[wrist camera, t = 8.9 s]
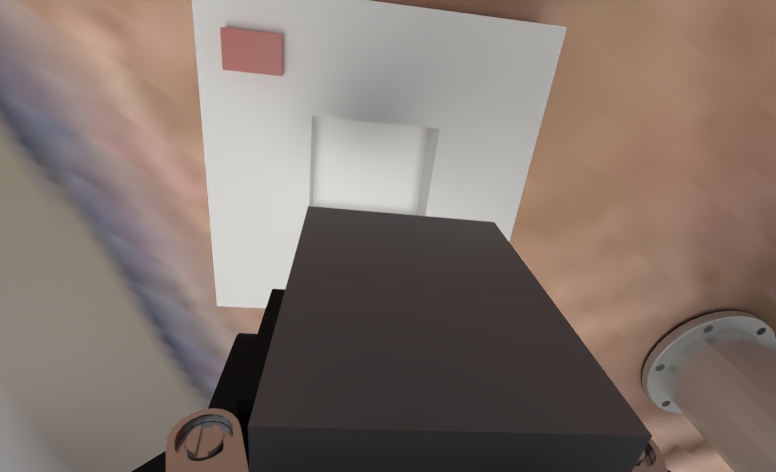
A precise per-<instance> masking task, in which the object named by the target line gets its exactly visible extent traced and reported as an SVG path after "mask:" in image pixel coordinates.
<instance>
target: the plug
mask: <svg viewBox="0 0 776 472" xmlns="http://www.w3.org/2000/svg"><path fill="white" fill-rule="evenodd" d="M651 437H652V435H651V434H650V432H649V431H648V430H647V428H646V427H645V426H644V424H643V423H642V422H641V420H640V419H639V418H638V416H637V415H636V413H635V412H634V411H633V409H632V408H631V407H630V405H629V404H628V403H627V401H626V400H625V399H624V397H623V396H622V395H621V393H620V392H619V390H618V389H617V388H616V386H615V385H614V384H613V382H612V381H611V380H610V378H609V377H608V376H607V374H606V373H605V371H604V370H603V369H602V367H601V366H600V365H599V363H598V362H597V361H596V359H595V358H594V357H593V355H592V354H591V353H590V351H589V350H588V348H587V347H586V346H585V344H584V343H583V342H582V340H581V339H580V338H579V336H578V335H577V334H576V332H575V331H574V329H573V328H572V327H571V325H570V324H569V323H568V321H567V320H566V319H565V317H564V316H563V315H562V313H561V312H560V311H559V309H558V308H557V306H556V305H555V304H554V302H553V301H552V300H551V298H550V297H549V296H548V294H547V293H546V292H545V290H544V289H543V287H542V286H541V285H540V283H539V282H538V281H537V279H536V278H535V277H534V275H533V274H532V273H531V271H530V270H529V269H528V267H527V266H526V264H525V263H524V262H523V260H522V259H521V258H520V256H519V255H518V254H517V252H516V251H515V250H514V248H513V247H512V245H511V244H510V243H509V241H508V240H507V239H506V237H505V236H504V235H503V233H502V232H501V231H500V229H499V228H498V226H497V225H496V224H495V222H488V221H476V220H465V219H453V218H441V217H430V216H418V215H406V214H395V213H383V212H372V211H360V210H348V209H337V208H325V207H313V206H308V209H307V212H306V216H305V220H304V223H303V227H302V231H301V234H300V238H299V242H298V245H297V249H296V253H295V256H294V260H293V264H292V267H291V271H290V274H289V278H288V282H287V285H286V289H285V293H284V296H283V300H282V304H281V307H280V311H279V315H278V318H277V322H276V325H275V329H274V333H273V336H272V340H271V344H270V347H269V351H268V355H267V358H266V362H265V366H264V369H263V373H262V377H261V380H260V384H259V387H258V391H257V395H256V398H255V402H254V406H253V409H252V413H251V417H250V420H249V424H248V445H249V472H632V470H633V468H634V466H635V465H636V463H637V461H638V459H639V458H640V456H641V454H642V453H643V451H644V449H645V447H646V446H647V444H648V442H649V440H650V439H651Z"/></svg>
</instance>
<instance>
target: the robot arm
mask: <svg viewBox="0 0 776 472" xmlns="http://www.w3.org/2000/svg"><path fill="white" fill-rule="evenodd" d="M284 293H285V289H272V291H271V294H270V297H269V300H268V303H267V307H266V310H265V313H264V316H263V319H262V322H261V325H260V328H259V331H258V334H245V333H239V334H238V335H237V337H236V339H235V341H234V344H233V346H232V349H231V351H230V354H229V357H228V359H227V362H226V364H225V367H224V369H223V372H222V374H221V377H220V379H219V382H218V385H217V387H216V390H215V392H214V395H213V397H212V400H211V402H210V405H209V408H208V409H204V410H200V411H197V412H194V413H192V414H190V415H189V416H187V417H185V418H184V419H182V420H180V421H179V423H177V424H176V425H175V426H174V428H173V429H172V430H171V432H170V434H169V436H168V438H167V442H166V451H165V452H163V453H162V454H160V455H158V456H157V457H155V458H153V459H152V460H150V461H148V462H147V463H145V464H144V465H142V466H140V467H139V468H137V469H135V470H134V471H132V472H249V445H248V424H249V420H250V417H251V413H252V409H253V406H254V402H255V398H256V395H257V391H258V387H259V384H260V380H261V377H262V373H263V369H264V366H265V362H266V358H267V355H268V351H269V347H270V344H271V340H272V336H273V333H274V329H275V325H276V322H277V318H278V315H279V311H280V307H281V304H282V300H283V296H284ZM642 385H643V389H644V391H645V393H646V394H647V396H648V397H649V398H650V399H651V400H652V402H653V403H654V404H655V405H656V406H658V407H659V408H660V409H663V410H665V411H668V412H672V413H677V414H684V415H685V416H686V417H687V418H688V419H689V420H690V422H691V423H692V424H693V425H694V426H695V427H696V429H697V430H698V431H699V432H700V433H701V434H702V435H703V437H704V438H705V439H706V440H707V441H708V442H709V444H710V445H711V446H712V447H713V448H714V449H715V450H716V452H717V453H718V454H719V455H720V456H721V457H722V459H723V460H724V461H725V462H726V463H727V464H728V465H729V467H730V468H731V469H732V470H733V471H734V472H776V337H775V333H774V332H773V330H772V329H771V328H770V326H769V325H767V324H766V323H765V322H763V321H762V320H761V319H759V318H758V317H756V316H754V315H752V314H749V313H746V312H742V311H722V312H715V313H711V314H707V315H703V316H701V317H698V318H696V319H693V320H691V321H689V322H687V323H685V324H683V325H681V326H680V327H678V328H677V329H675V330H674V331H672V332H671V333H670V334H668V335H667V336H666V337H665V338H664V339H663V340H662V341H661V342H660V343H658V345H657V346H656V347H655V348H654V350H653V351H652V352H651V354H650V355H649V357H648V359H647V361H646V363H645V366H644V369H643V372H642ZM632 472H670V471H669V470H667V468H666V465H665V462H664V459H663V456H662V454H661V452H660V450H659V448H658V446H657V445H656V444H655V443H654V441H653V440H652V439H650V440H649V442H648V444H647V446H646V447H645V449H644V451H643V453H642V454H641V456H640V458H639V459H638V461H637V463H636V465H635V466H634V468H633V470H632Z"/></svg>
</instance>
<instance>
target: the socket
mask: <svg viewBox="0 0 776 472" xmlns="http://www.w3.org/2000/svg"><path fill="white" fill-rule="evenodd" d="M192 10H193V22H194V34H195V47H196V59H197V71H198V83H199V95H200V107H201V119H202V131H203V143H204V155H205V167H206V179H207V191H208V203H209V215H210V227H211V239H212V251H213V263H214V275H215V287H216V299H217V306H228V307H250V308H266V307H267V303H268V300H269V297H270V294H271V291H272V289H286V285H287V282H288V278H289V274H290V271H291V267H292V264H293V260H294V256H295V253H296V249H297V245H298V242H299V238H300V234H301V231H302V227H303V223H304V220H305V216H306V212H307V209H308V206H313V207H325V208H337V209H348V210H360V211H372V212H383V213H395V214H406V215H418V216H430V217H441V218H453V219H465V220H476V221H488V222H495V224H496V225H497V226H498V228H499V229H500V231H501V232H502V233H503V235H504V236H505V237H506V239H507V240H508V241H510V237H511V234H512V230H513V226H514V223H515V219H516V215H517V211H518V208H519V204H520V200H521V197H522V193H523V189H524V185H525V182H526V178H527V174H528V171H529V167H530V163H531V160H532V156H533V152H534V148H535V145H536V141H537V137H538V134H539V130H540V126H541V123H542V119H543V115H544V111H545V108H546V104H547V100H548V97H549V93H550V89H551V85H552V82H553V78H554V74H555V71H556V67H557V63H558V60H559V56H560V52H561V48H562V45H563V41H564V37H565V34H566V30H567V27H563V26H556V25H548V24H541V23H533V22H526V21H519V20H511V19H504V18H496V17H489V16H481V15H474V14H467V13H459V12H452V11H444V10H437V9H429V8H422V7H415V6H407V5H400V4H392V3H385V2H378V1H370V0H192Z"/></svg>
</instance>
